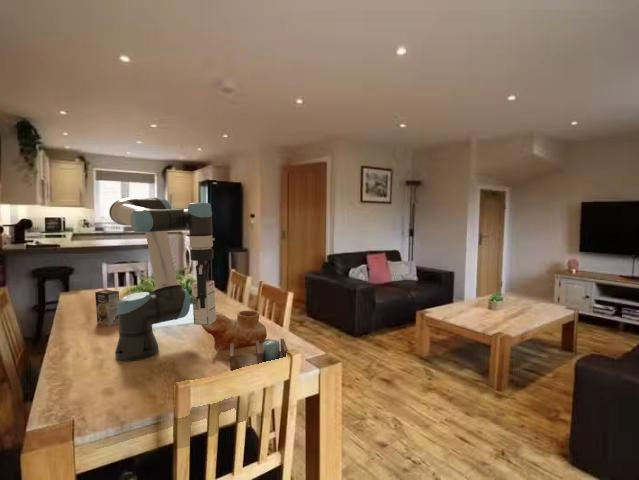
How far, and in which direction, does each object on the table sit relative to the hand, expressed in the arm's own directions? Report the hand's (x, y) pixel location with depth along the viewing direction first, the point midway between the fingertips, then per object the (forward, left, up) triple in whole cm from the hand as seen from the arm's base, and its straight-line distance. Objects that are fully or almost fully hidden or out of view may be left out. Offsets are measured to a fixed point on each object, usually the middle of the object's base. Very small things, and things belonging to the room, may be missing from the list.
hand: (204, 313), depth 125 cm
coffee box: (-52, +67, -21) cm, 87 cm away
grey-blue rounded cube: (+23, +1, -19) cm, 30 cm away
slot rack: (+18, +1, -20) cm, 27 cm away
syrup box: (0, 0, -3) cm, 3 cm away
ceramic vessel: (+10, +21, -21) cm, 31 cm away
